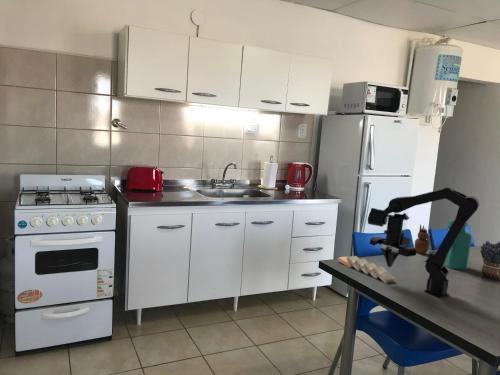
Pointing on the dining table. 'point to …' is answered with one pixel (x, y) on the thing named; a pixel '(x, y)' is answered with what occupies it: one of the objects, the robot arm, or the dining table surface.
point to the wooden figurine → (421, 241)
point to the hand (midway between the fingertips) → (389, 266)
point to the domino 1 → (344, 261)
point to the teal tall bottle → (459, 249)
